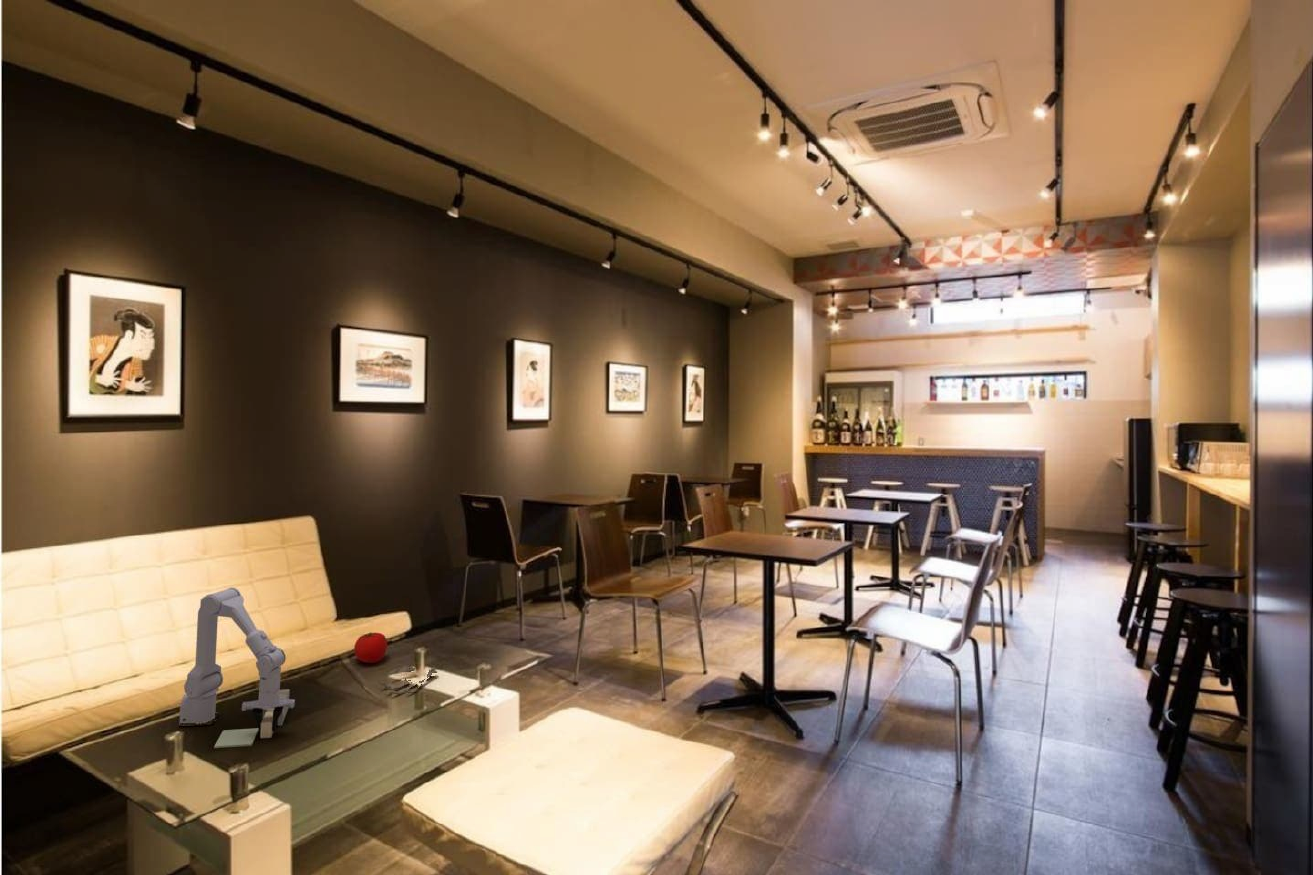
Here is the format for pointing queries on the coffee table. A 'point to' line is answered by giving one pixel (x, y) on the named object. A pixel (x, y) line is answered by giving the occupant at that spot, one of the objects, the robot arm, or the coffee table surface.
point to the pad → (236, 738)
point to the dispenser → (283, 695)
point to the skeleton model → (406, 669)
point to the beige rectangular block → (267, 724)
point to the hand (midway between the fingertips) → (267, 730)
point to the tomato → (370, 647)
